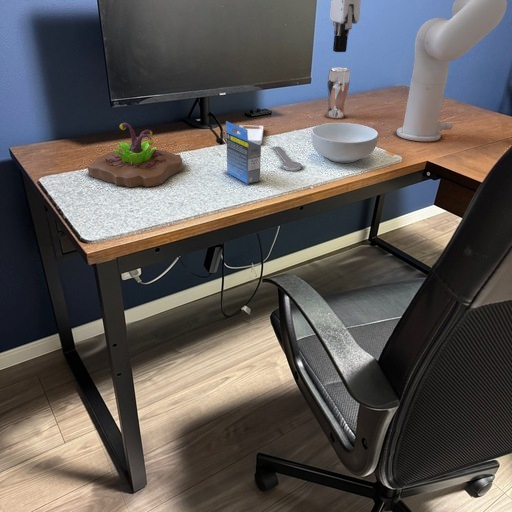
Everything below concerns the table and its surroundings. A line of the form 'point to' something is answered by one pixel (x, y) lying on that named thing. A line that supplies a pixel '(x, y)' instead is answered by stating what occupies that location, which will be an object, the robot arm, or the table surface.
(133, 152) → the plant
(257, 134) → the phone case
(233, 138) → the blue cardboard box
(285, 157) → the spoon
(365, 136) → the cereal bowl
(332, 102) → the beer glass
